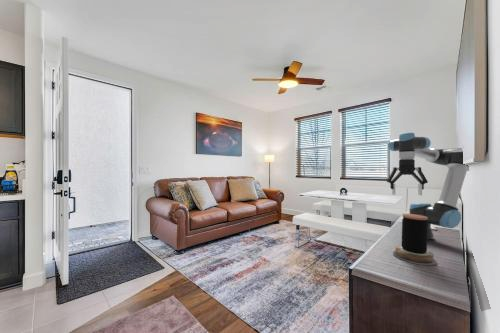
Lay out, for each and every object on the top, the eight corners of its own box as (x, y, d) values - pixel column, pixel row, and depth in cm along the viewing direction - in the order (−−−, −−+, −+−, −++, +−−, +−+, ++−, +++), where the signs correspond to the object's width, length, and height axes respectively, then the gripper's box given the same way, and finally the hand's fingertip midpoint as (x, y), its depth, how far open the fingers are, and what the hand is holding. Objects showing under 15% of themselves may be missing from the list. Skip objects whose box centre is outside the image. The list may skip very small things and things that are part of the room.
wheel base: (409, 249, 125) (409, 247, 125) (445, 263, 108) (445, 260, 108) (385, 252, 120) (385, 250, 120) (419, 267, 102) (419, 264, 102)
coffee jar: (420, 247, 118) (420, 214, 118) (431, 255, 107) (432, 219, 107) (397, 245, 120) (398, 213, 120) (407, 253, 110) (408, 217, 110)
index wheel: (391, 249, 124) (391, 233, 124) (424, 252, 119) (424, 236, 119) (402, 260, 108) (402, 242, 108) (440, 265, 104) (440, 246, 104)
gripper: (428, 158, 130) (428, 194, 130) (381, 159, 136) (381, 193, 136) (435, 158, 122) (435, 196, 123) (385, 159, 129) (385, 195, 129)
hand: (406, 194), depth 129 cm, fingers open, 13 cm apart
